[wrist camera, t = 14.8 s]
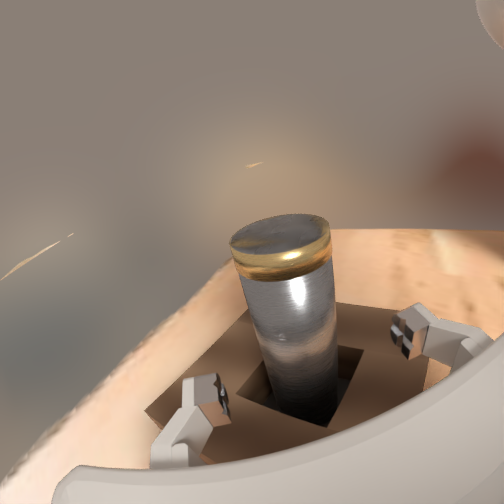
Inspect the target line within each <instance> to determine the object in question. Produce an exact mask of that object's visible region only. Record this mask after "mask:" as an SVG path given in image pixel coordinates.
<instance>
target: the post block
mask: <svg viewBox="0 0 504 504" xmlns="http://www.w3.org/2000/svg"><path fill="white" fill-rule="evenodd" d="M335 303H336V320H337V345H338V406H337V410H336V412H335V414H334V415H333V417H332V418H331V419H330V420H329V421H328V422H326V423H325V424H323V425H321V426H318V425H315V424H312V423H309V422H306V421H303V420H300V419H297V418H294V417H291V416H288V415H286V414H283V413H280V412H279V409H278V406H277V403H276V399H275V396H274V393H273V390H272V386H271V383H270V380H269V376H268V373H267V370H266V366H265V363H264V360H263V356H262V353H261V350H260V346H259V343H258V339H257V336H256V333H255V329H254V326H253V322H252V319H251V315H250V312H249V309H248V310H247V311H246V312H245V313H244V314H243V315H242V316H241V317H240V318H239V319H238V320H237V321H236V322H235V323H234V324H233V325H232V326H231V327H230V328H229V329H228V330H227V331H226V332H225V333H224V334H223V335H222V336H221V337H220V338H219V339H218V340H217V341H216V342H215V343H214V344H213V345H212V346H211V347H210V348H209V349H208V350H207V351H206V352H205V353H204V354H203V355H202V356H201V357H200V358H199V359H198V360H197V361H196V362H195V363H194V364H193V365H192V366H191V367H190V368H189V369H188V370H187V371H186V372H185V373H184V374H182V375H181V376H180V377H179V378H178V379H177V380H176V381H175V382H174V383H173V384H172V385H171V386H170V387H169V388H168V389H167V390H166V391H165V392H164V393H163V394H161V395H160V396H159V397H158V398H157V399H156V400H155V401H154V402H153V403H152V404H151V405H150V406H149V407H148V408H146V409H145V410H144V411H145V412H146V413H147V415H148V416H149V417H150V418H151V419H152V420H153V421H154V422H155V423H156V424H157V425H158V427H159V428H160V429H161V430H163V429H164V427H165V426H166V425H167V423H168V422H169V421H170V419H171V418H172V417H173V415H174V414H175V413H176V411H177V410H178V409H179V408H182V383H183V380H184V379H185V378H191V377H196V376H201V375H207V374H212V373H218V374H219V376H220V380H221V383H222V384H224V386H225V389H226V391H227V395H228V399H229V404H228V408H229V410H230V414H231V421H232V423H230V424H226V425H221V426H216V427H213V430H212V432H211V434H210V436H209V438H208V440H207V442H206V444H205V446H204V448H203V450H202V452H201V453H200V455H199V457H200V458H201V459H202V460H203V461H204V462H205V463H206V464H207V465H212V464H219V463H226V462H232V461H238V460H243V459H248V458H253V457H258V456H262V455H267V454H271V453H275V452H279V451H282V450H286V449H290V448H293V447H297V446H300V445H303V444H307V443H310V442H313V441H316V440H319V439H322V438H325V437H327V436H330V435H333V434H335V433H338V432H341V431H343V430H346V429H348V428H351V427H353V426H356V425H358V424H360V423H363V422H365V421H367V420H369V419H371V418H374V417H376V416H378V415H380V414H382V413H384V412H386V411H388V410H390V409H392V408H394V407H396V406H398V405H400V404H402V403H404V402H406V401H407V400H409V399H411V398H413V397H415V396H416V395H418V394H420V393H421V392H422V391H423V386H424V382H425V377H426V372H427V366H428V361H429V357H427V356H425V355H423V354H420V355H418V356H416V357H414V358H412V359H410V360H407V358H406V357H405V356H404V355H403V354H402V352H401V347H398V346H396V345H395V344H394V343H393V341H392V338H391V334H390V331H391V327H392V325H393V324H394V323H393V322H392V316H393V314H395V313H397V312H399V311H398V310H390V309H382V308H375V307H367V306H360V305H352V304H345V303H338V302H335ZM434 316H435V315H434Z"/></svg>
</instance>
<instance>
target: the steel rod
mask: <svg viewBox="0 0 504 504" xmlns="http://www.w3.org/2000/svg"><path fill="white" fill-rule="evenodd" d="M229 244H230V248H231V252H232V256H233V259H234V263H235V266H236V269H237V271H238V273H239V277H240V280H241V284H242V287H243V291H244V294H245V298H246V301H247V305H248V308H249V312H250V315H251V319H252V322H253V326H254V329H255V333H256V336H257V339H258V343H259V346H260V350H261V353H262V356H263V360H264V363H265V366H266V370H267V373H268V376H269V380H270V383H271V386H272V390H273V393H274V396H275V399H276V403H277V406H278V409H279V412H280V413H283V414H286V415H288V416H291V417H294V418H297V419H300V420H303V421H306V422H309V423H312V424H315V425H318V426H321V425H323V424H325V423H326V422H328V421H329V420H330V419H331V418H332V417H333V415H334V414H335V412H336V410H337V406H338V345H337V320H336V303H335V288H334V276H333V265H332V244H331V235H330V227H329V223H328V222H327V220H325V219H324V218H322V217H319V216H316V215H310V214H287V215H280V216H274V217H270V218H266V219H263V220H260V221H257V222H254V223H252V224H249V225H247V226H245V227H243V228H242V229H240V230H239V231H237V232H236V233H235V234H234V235H233V236H232V237H231V239H230V242H229Z"/></svg>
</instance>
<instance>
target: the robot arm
mask: <svg viewBox="0 0 504 504" xmlns="http://www.w3.org/2000/svg"><path fill="white" fill-rule="evenodd" d="M476 7H477V12H478V14H479V18H480V20H481V22H482V24H483V26H484V28H485V29H486V31H487V32H488V34H489V35H490V37H491V38H492V39H493V40H494V41H495V42H496V43H497V44H498V45H499V46H500V47H501V48H502V49H503V50H504V0H476ZM392 322H393V323H394V324H393V325H392V327H391V331H390V334H391V338H392V341H393V343H394V344H395V345H396V346H398V347H401V352H402V354H403V355H404V356H405V357H406V358H407V360H410V359H412V358H414V357H416V356H418V355H420V354H423V355H425V356H427V357H430V358H432V359H434V360H436V361H439V362H441V363H443V364H446V365H448V366H450V367H452V368H451V371H450V373H449V375H448V376H447V377H445V378H444V379H442V380H441V381H439V382H438V383H436V384H435V385H433V386H431V387H430V388H428V389H427V390H425V391H423V392H421V393H420V394H418V395H416V396H415V397H413V398H411V399H409V400H407V401H406V402H404V403H402V404H400V405H398V406H396V407H394V408H392V409H390V410H388V411H386V412H384V413H382V414H380V415H378V416H376V417H374V418H371V419H369V420H367V421H365V422H363V423H360V424H358V425H356V426H353V427H351V428H348V429H346V430H343V431H341V432H338V433H335V434H333V435H330V436H327V437H325V438H322V439H319V440H316V441H313V442H310V443H307V444H303V445H300V446H297V447H293V448H290V449H286V450H282V451H279V452H275V453H271V454H267V455H262V456H258V457H253V458H248V459H243V460H238V461H232V462H226V463H219V464H212V465H207V464H206V463H205V462H204V461H203V460H202V459H201V458H200V457H199V455H200V453H201V452H202V450H203V448H204V446H205V444H206V442H207V440H208V438H209V436H210V434H211V432H212V430H213V427H216V426H221V425H226V424H230V423H232V421H231V414H230V410H229V408H228V404H229V399H228V395H227V391H226V389H225V386H224V384H222V383H221V380H220V376H219V374H218V373H212V374H207V375H201V376H196V377H191V378H185V379H184V380H183V383H182V408H179V409H178V410H177V411H176V413H175V414H174V415H173V417H172V418H171V419H170V421H169V422H168V423H167V425H166V426H165V427H164V429H163V430H162V431H161V433H160V434H159V435H158V437H157V438H156V439H155V441H154V442H153V443H152V445H151V455H150V469H124V468H107V467H96V466H87V465H79V466H77V467H75V468H74V469H72V470H71V471H70V472H69V473H68V474H67V475H66V476H65V477H64V478H63V479H62V480H61V481H60V482H59V483H58V485H57V486H56V489H55V491H54V494H53V498H52V503H51V504H504V333H502V334H501V335H500V336H499V337H498V338H497V339H496V340H495V341H494V340H493V339H491V338H490V337H489V336H488V335H487V334H486V333H485V332H484V331H483V330H481V329H480V328H478V327H474V326H470V325H466V324H462V323H457V322H453V321H449V320H445V319H438V318H437V317H436V316H434V315H433V314H432V313H431V312H430V311H429V310H428V309H427V308H425V307H424V306H423V305H422V304H421V303H416V304H414V305H412V306H410V307H408V308H406V309H403V310H401V311H399V312H397V313H395V314H393V316H392Z"/></svg>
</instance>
